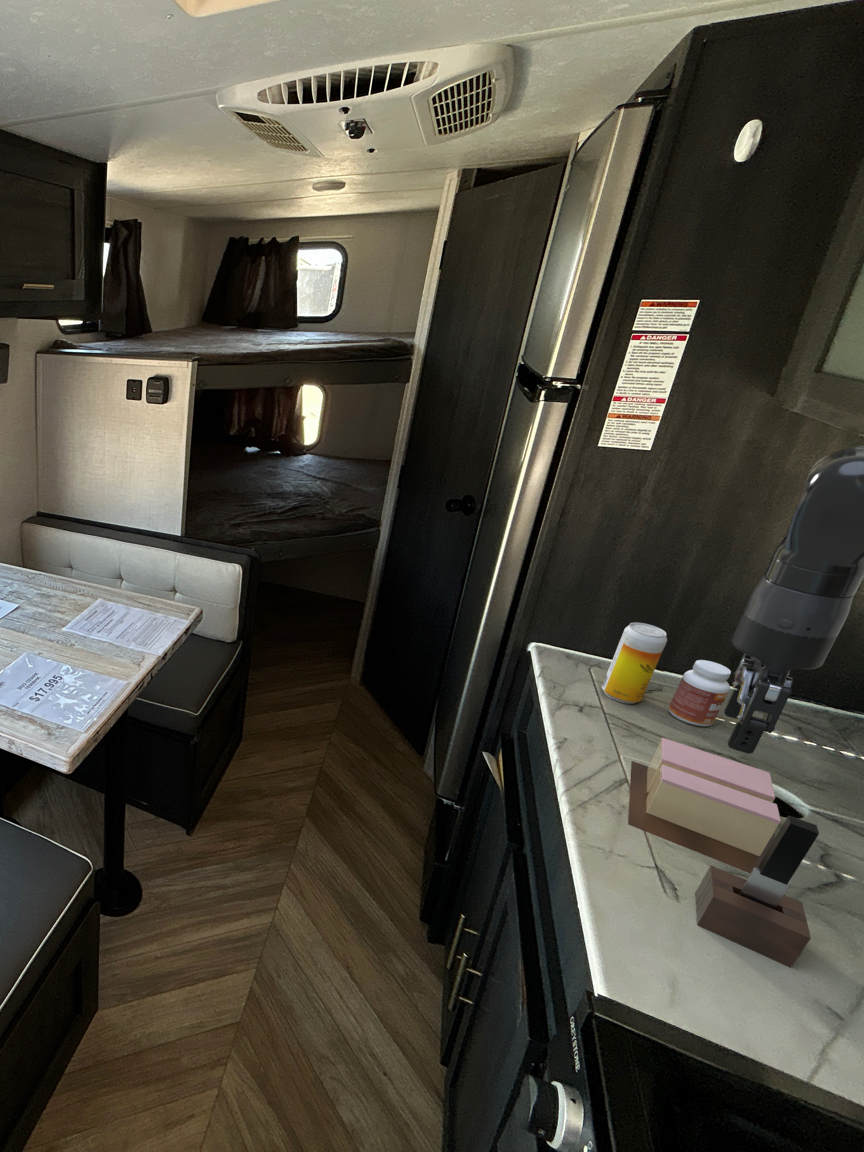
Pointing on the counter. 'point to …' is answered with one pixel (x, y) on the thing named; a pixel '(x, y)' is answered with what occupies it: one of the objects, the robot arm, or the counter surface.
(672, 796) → the cake slice
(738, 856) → the cake board
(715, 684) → the pill bottle
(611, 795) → the counter surface
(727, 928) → the knife block
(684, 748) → the cake
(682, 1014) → the counter surface
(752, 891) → the knife
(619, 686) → the beer can
